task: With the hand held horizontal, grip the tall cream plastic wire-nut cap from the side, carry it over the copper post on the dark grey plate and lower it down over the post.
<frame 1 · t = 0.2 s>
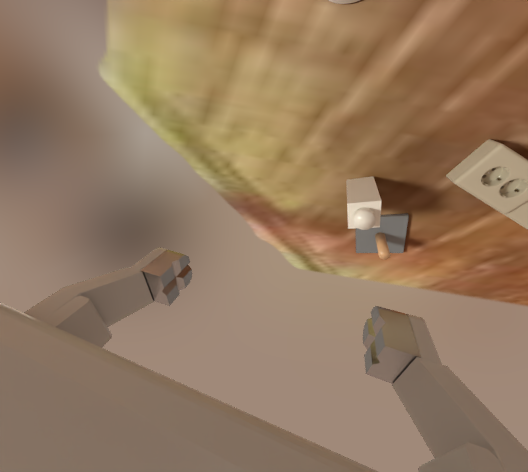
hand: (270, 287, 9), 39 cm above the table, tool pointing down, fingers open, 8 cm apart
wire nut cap: (359, 189, 43), on the table
electrical outlet: (506, 184, 36), on the table
peg stand: (379, 233, 47), on the table
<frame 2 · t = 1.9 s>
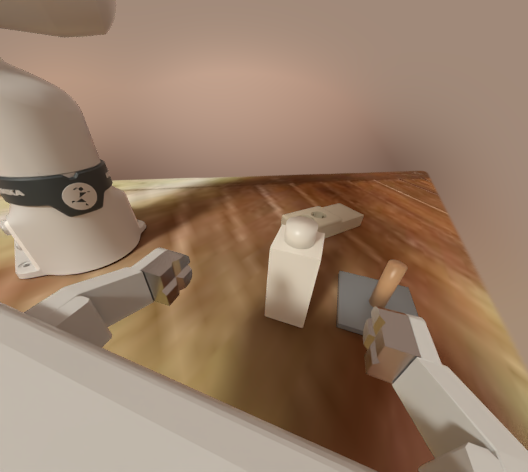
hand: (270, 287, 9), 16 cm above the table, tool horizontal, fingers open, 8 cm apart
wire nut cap: (287, 306, 28), on the table
electrical outlet: (320, 229, 46), on the table
peg stand: (374, 307, 28), on the table
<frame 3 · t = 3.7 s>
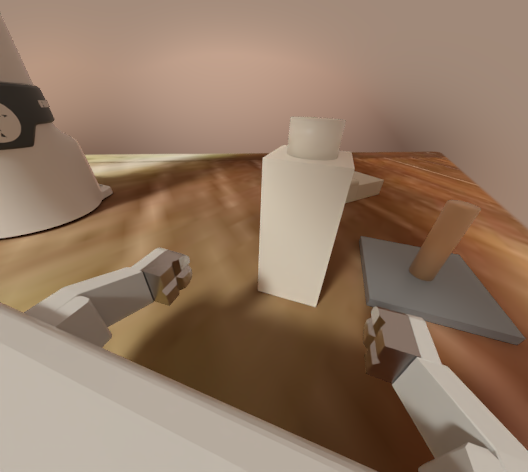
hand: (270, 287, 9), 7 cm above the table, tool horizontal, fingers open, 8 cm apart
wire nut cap: (291, 278, 19), on the table
electrical outlet: (331, 198, 38), on the table
peg stand: (417, 279, 20), on the table
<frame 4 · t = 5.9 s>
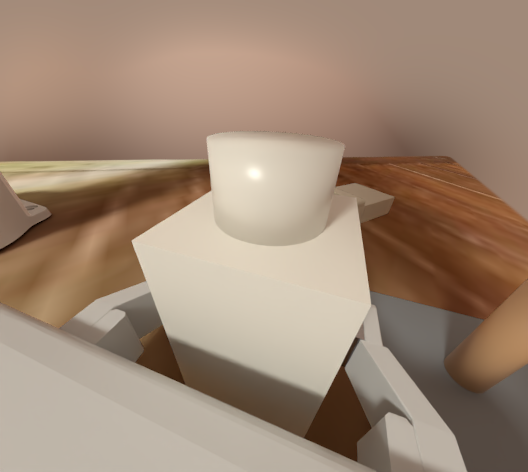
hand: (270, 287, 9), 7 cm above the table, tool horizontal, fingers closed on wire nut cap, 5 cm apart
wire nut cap: (258, 382, 12), on the table, touching gripper
electrical outlet: (330, 219, 31), on the table
peg stand: (456, 379, 13), on the table
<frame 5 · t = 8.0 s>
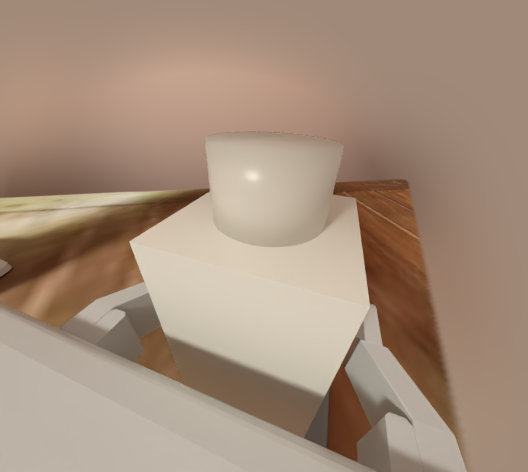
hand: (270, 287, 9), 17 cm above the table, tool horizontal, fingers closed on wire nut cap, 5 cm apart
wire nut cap: (258, 382, 12), point 10 cm above the table, touching gripper
peg stand: (267, 425, 18), on the table
when the fingers open (9 cm above the table, at t = 10.4 s): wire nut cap drops 1 cm, resting on peg stand.
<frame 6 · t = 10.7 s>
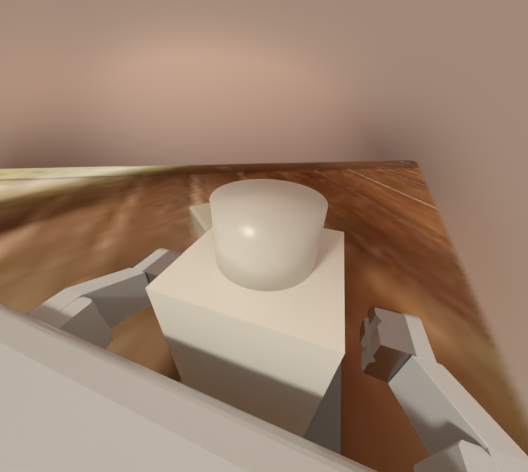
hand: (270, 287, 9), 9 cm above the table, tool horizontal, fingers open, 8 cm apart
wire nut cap: (257, 392, 13), point 1 cm above the table, touching peg stand
electrical outlet: (256, 228, 32), on the table
peg stand: (257, 397, 13), on the table
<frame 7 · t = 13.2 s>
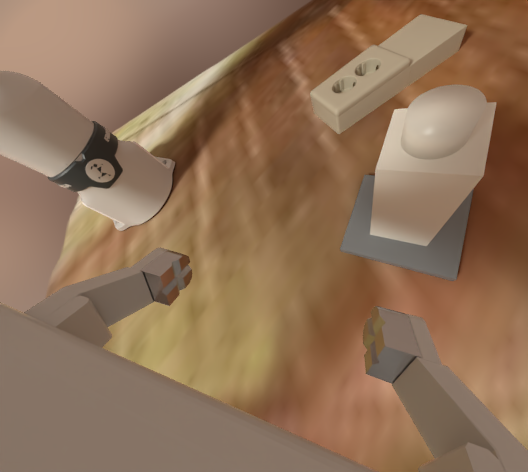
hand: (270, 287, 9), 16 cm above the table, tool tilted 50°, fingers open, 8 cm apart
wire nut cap: (402, 218, 21), point 1 cm above the table, touching peg stand
electrical outlet: (377, 88, 31), on the table
peg stand: (401, 221, 22), on the table
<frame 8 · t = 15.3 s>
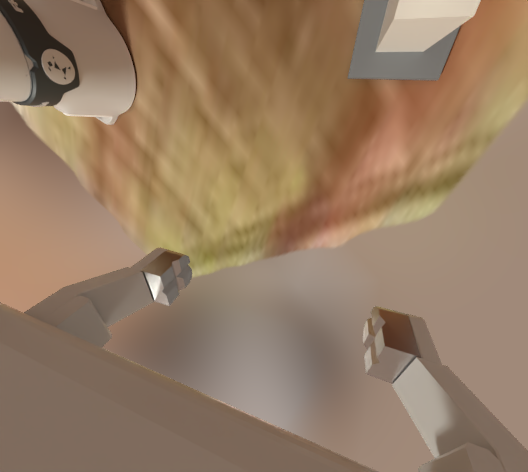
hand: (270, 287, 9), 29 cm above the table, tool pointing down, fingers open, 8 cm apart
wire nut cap: (408, 21, 22), point 1 cm above the table, touching peg stand
peg stand: (406, 23, 23), on the table
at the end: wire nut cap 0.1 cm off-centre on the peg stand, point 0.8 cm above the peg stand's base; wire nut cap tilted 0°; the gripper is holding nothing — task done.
